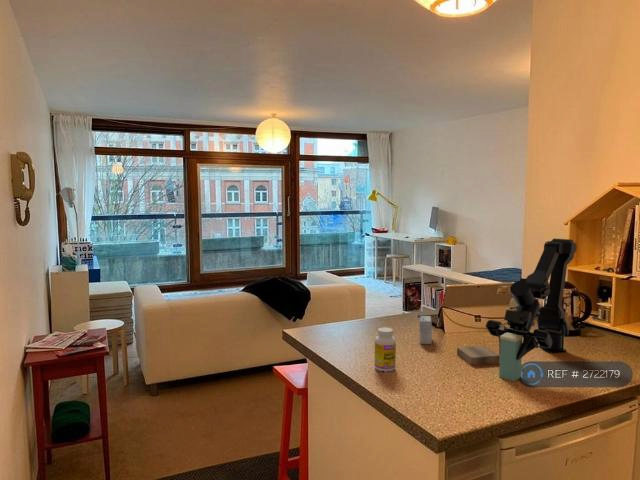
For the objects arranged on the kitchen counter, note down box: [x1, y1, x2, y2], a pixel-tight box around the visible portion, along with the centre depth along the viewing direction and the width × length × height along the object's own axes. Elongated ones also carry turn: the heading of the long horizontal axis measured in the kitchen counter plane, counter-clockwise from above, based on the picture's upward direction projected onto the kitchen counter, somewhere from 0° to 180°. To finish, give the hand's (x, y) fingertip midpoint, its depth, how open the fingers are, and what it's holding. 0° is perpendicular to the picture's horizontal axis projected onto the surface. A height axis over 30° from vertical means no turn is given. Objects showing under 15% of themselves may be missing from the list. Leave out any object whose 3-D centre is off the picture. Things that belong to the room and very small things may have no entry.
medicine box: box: [418, 315, 433, 345], centre depth 176 cm, size 8×4×9 cm, turn 168°
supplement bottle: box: [374, 326, 397, 373], centre depth 149 cm, size 7×7×13 cm
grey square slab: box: [456, 345, 500, 366], centre depth 157 cm, size 10×10×3 cm
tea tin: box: [498, 332, 524, 382], centre depth 141 cm, size 5×5×13 cm
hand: (508, 357), depth 140 cm, fingers open, 5 cm apart
